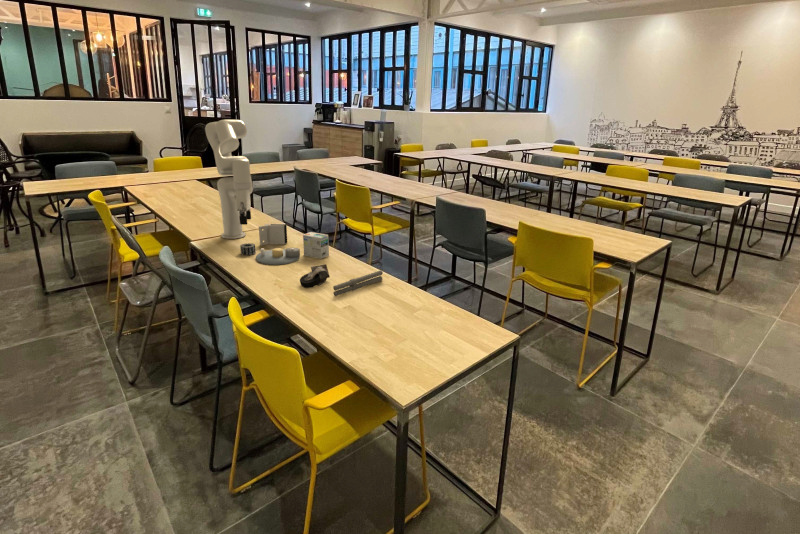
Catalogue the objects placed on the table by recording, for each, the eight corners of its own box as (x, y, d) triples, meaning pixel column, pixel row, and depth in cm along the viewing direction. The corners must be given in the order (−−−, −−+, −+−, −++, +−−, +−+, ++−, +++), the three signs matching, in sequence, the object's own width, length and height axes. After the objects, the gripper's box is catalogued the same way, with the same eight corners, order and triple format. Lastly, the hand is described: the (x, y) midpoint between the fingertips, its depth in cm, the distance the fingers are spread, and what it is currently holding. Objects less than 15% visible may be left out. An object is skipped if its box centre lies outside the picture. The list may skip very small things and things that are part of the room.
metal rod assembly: (378, 279, 199) (378, 269, 198) (383, 281, 198) (383, 270, 196) (331, 296, 182) (331, 284, 180) (336, 298, 180) (336, 286, 178)
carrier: (259, 251, 228) (259, 242, 227) (301, 251, 231) (301, 242, 229) (252, 265, 210) (251, 255, 208) (298, 264, 212) (297, 255, 211)
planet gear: (242, 250, 228) (241, 243, 226) (256, 250, 228) (256, 243, 227) (239, 255, 221) (239, 247, 220) (254, 255, 222) (253, 247, 221)
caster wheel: (301, 294, 188) (304, 281, 197) (328, 289, 188) (330, 276, 197) (297, 280, 185) (299, 268, 193) (324, 275, 185) (326, 263, 193)
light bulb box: (329, 255, 226) (329, 234, 222) (321, 259, 220) (321, 238, 217) (311, 251, 230) (310, 231, 226) (303, 255, 224) (302, 234, 221)
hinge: (260, 245, 236) (258, 226, 233) (259, 242, 241) (258, 224, 238) (287, 244, 240) (286, 225, 237) (287, 241, 245) (286, 223, 242)
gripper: (238, 182, 221) (241, 217, 227) (230, 189, 205) (233, 226, 211) (254, 182, 222) (256, 217, 228) (247, 189, 206) (250, 226, 211)
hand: (245, 221), depth 219 cm, fingers open, 9 cm apart
